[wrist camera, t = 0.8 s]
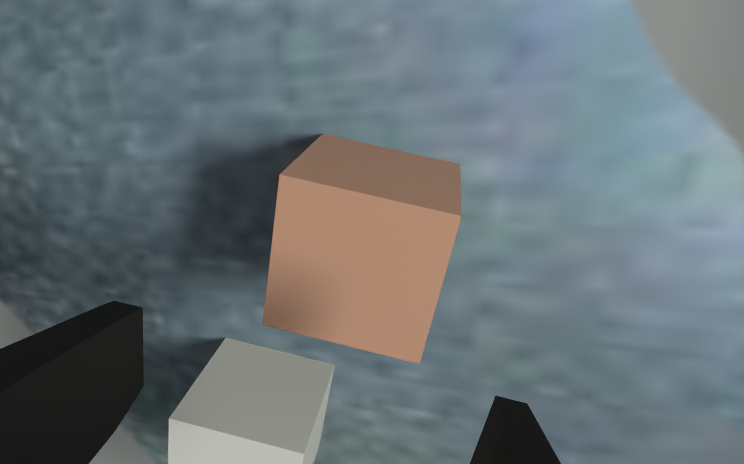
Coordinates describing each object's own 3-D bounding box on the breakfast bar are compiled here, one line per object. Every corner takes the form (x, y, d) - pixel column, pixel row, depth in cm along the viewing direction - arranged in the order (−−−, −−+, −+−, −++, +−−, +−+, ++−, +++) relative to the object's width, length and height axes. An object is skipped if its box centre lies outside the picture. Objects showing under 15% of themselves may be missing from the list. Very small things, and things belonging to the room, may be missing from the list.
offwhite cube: (319, 444, 24) (288, 544, 20) (220, 418, 25) (167, 510, 20) (334, 363, 22) (304, 454, 18) (226, 336, 23) (168, 418, 18)
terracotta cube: (427, 283, 20) (419, 363, 15) (305, 254, 20) (262, 324, 16) (460, 163, 18) (461, 216, 13) (323, 133, 18) (279, 174, 14)
